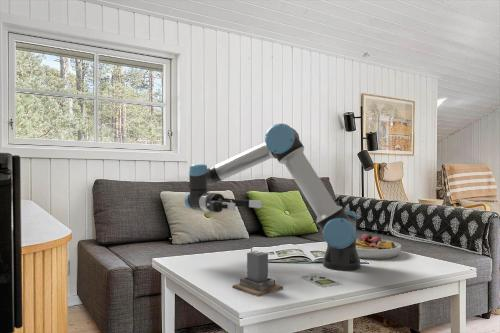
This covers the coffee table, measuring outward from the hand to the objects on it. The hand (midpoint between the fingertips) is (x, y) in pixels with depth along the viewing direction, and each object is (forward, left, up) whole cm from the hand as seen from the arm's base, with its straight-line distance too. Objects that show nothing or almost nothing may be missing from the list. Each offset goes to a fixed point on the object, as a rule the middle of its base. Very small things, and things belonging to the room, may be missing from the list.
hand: (248, 205), depth 148 cm
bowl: (-42, -60, -27) cm, 78 cm away
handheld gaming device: (-25, -6, -27) cm, 38 cm away
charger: (-6, +10, -26) cm, 29 cm away
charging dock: (-6, +10, -27) cm, 29 cm away
